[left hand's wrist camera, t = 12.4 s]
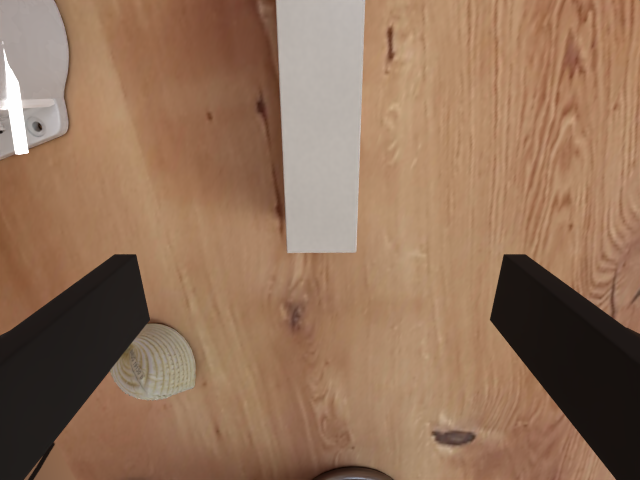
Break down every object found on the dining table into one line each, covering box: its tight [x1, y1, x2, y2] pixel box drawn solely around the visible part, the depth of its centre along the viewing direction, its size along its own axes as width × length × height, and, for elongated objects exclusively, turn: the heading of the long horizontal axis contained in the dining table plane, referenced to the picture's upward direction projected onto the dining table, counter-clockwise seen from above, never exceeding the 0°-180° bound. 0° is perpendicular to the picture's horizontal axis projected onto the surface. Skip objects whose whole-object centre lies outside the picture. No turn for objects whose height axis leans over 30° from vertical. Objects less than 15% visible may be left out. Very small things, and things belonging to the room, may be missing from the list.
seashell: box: [110, 324, 196, 401], centre depth 38 cm, size 8×8×8 cm
